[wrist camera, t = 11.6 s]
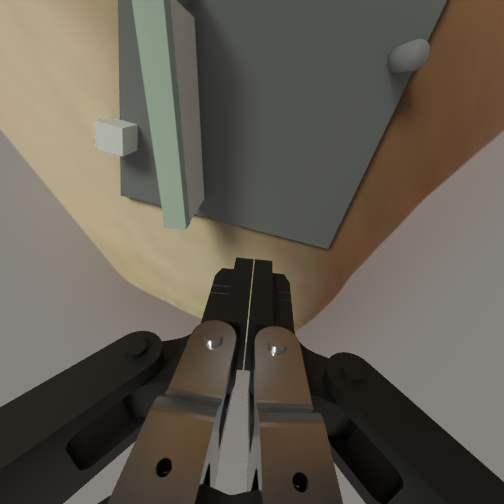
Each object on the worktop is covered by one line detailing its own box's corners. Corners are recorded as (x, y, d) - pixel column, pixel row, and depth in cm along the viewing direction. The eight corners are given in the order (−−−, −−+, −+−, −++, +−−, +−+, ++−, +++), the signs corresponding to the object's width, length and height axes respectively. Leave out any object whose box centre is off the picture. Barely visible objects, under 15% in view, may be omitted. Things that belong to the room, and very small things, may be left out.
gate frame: (119, 190, 30) (61, 227, 22) (113, -130, 18) (-21, -316, 10) (326, 244, 31) (345, 297, 23) (448, -14, 20) (572, -90, 11)
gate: (172, 16, 20) (129, -16, 14) (195, 17, 20) (162, -15, 14) (188, 198, 28) (164, 227, 22) (205, 199, 28) (186, 229, 22)
